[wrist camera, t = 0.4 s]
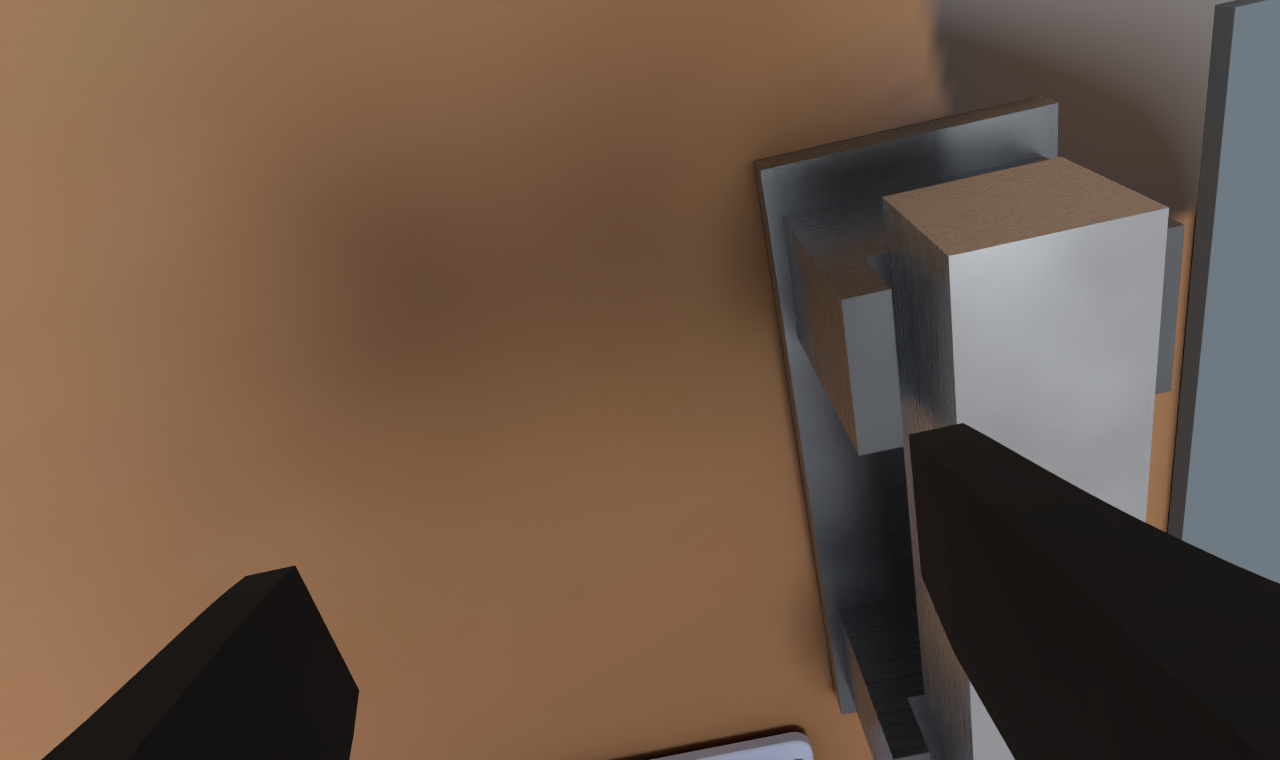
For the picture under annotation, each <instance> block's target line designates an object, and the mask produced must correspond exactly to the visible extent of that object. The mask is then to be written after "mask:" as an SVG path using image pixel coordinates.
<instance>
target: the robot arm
mask: <svg viewBox="0 0 1280 760" xmlns="http://www.w3.org/2000/svg"><path fill="white" fill-rule="evenodd" d="M909 444H910V456H911V467H912V478H913V489H914V500H915V512H916V523H917V534H918V545H919V556H920V567H921V576H922V578H923V581H924V583H925V586H926V588H927V590H928V593H929V595H930V598H931V600H932V603H933V605H934V607H935V610H936V612H937V615H938V617H939V619H940V622H941V624H942V626H943V629H944V631H945V633H946V636H947V638H948V640H949V643H950V645H951V647H952V649H953V652H954V654H955V656H956V657H957V659H958V661H959V663H960V665H961V666H962V668H963V670H964V672H965V673H966V675H967V677H968V679H969V680H970V682H971V684H972V686H973V687H974V689H975V691H976V693H977V694H978V696H979V698H980V700H981V702H982V703H983V705H984V707H985V709H986V710H987V712H988V714H989V716H990V717H991V719H992V721H993V722H994V724H995V726H996V728H997V729H998V731H999V733H1000V735H1001V736H1002V738H1003V740H1004V741H1005V743H1006V745H1007V747H1008V748H1009V750H1010V752H1011V754H1012V755H1013V757H1014V759H1015V760H1280V583H1277V582H1275V581H1272V580H1269V579H1267V578H1265V577H1262V576H1260V575H1258V574H1255V573H1253V572H1251V571H1248V570H1246V569H1244V568H1241V567H1239V566H1237V565H1234V564H1232V563H1230V562H1228V561H1225V560H1223V559H1221V558H1219V557H1217V556H1215V555H1213V554H1211V553H1208V552H1206V551H1204V550H1202V549H1200V548H1198V547H1196V546H1193V545H1191V544H1189V543H1187V542H1185V541H1183V540H1181V539H1178V538H1176V537H1174V536H1172V535H1170V534H1168V533H1166V532H1163V531H1161V530H1159V529H1157V528H1155V527H1153V526H1151V525H1149V524H1147V523H1145V522H1143V521H1141V520H1139V519H1137V518H1135V517H1133V516H1131V515H1129V514H1127V513H1126V512H1124V511H1122V510H1120V509H1118V508H1116V507H1114V506H1112V505H1110V504H1108V503H1106V502H1104V501H1103V500H1101V499H1099V498H1097V497H1095V496H1093V495H1091V494H1090V493H1088V492H1086V491H1084V490H1082V489H1080V488H1078V487H1077V486H1075V485H1073V484H1071V483H1069V482H1068V481H1066V480H1064V479H1062V478H1060V477H1058V476H1057V475H1055V474H1053V473H1051V472H1050V471H1048V470H1046V469H1044V468H1043V467H1041V466H1039V465H1037V464H1035V463H1034V462H1032V461H1030V460H1028V459H1027V458H1025V457H1023V456H1021V455H1020V454H1018V453H1016V452H1014V451H1013V450H1011V449H1009V448H1007V447H1006V446H1004V445H1002V444H1000V443H999V442H997V441H995V440H993V439H992V438H990V437H988V436H986V435H985V434H983V433H981V432H979V431H977V430H976V429H974V428H972V427H970V426H968V425H966V424H964V423H960V424H955V425H950V426H946V427H941V428H936V429H932V430H927V431H922V432H918V433H913V434H909ZM358 695H359V689H358V687H357V685H356V683H355V681H354V679H353V678H352V676H351V674H350V672H349V670H348V668H347V666H346V664H345V662H344V660H343V658H342V656H341V654H340V652H339V650H338V648H337V646H336V644H335V642H334V640H333V638H332V636H331V634H330V633H329V631H328V629H327V627H326V625H325V623H324V621H323V619H322V617H321V615H320V613H319V611H318V609H317V607H316V605H315V603H314V601H313V599H312V597H311V595H310V593H309V591H308V589H307V587H306V586H305V584H304V582H303V580H302V578H301V576H300V574H299V572H298V570H297V568H296V566H291V567H286V568H282V569H277V570H272V571H268V572H263V573H258V574H254V575H249V576H245V577H244V578H243V579H242V580H240V581H239V582H238V583H236V584H235V585H234V586H233V587H231V588H230V589H229V590H228V591H226V592H225V593H224V594H223V595H222V596H220V597H219V598H218V599H217V600H216V601H215V602H214V603H213V604H211V605H210V606H209V607H208V608H207V609H206V610H205V611H204V612H202V613H201V614H200V615H199V616H198V617H197V618H196V619H195V620H194V621H193V622H191V623H190V624H189V625H188V626H187V627H186V628H185V629H184V630H183V631H182V632H181V633H180V634H178V635H177V636H176V637H175V638H174V639H173V640H172V641H171V642H170V643H169V644H168V645H167V646H166V647H165V648H163V649H162V650H161V651H160V652H159V653H158V654H157V655H156V656H155V657H154V658H153V659H152V660H151V661H150V662H148V663H147V664H146V665H145V666H144V667H143V668H142V669H141V670H140V671H139V672H138V673H137V674H136V675H135V676H133V677H132V678H131V679H130V680H129V681H128V682H127V683H126V684H125V685H124V686H123V687H122V688H121V689H120V690H118V691H117V692H116V693H115V694H114V695H113V696H112V697H111V698H110V699H109V700H108V701H107V702H106V703H104V704H103V705H102V706H101V707H100V708H99V709H98V710H97V711H96V712H95V713H94V714H93V715H92V716H90V717H89V718H88V719H87V720H86V721H85V722H84V723H83V724H82V725H80V726H79V727H78V728H77V729H76V730H75V731H74V732H72V733H71V734H70V735H69V736H68V737H67V738H66V739H64V740H63V741H62V742H61V743H60V744H59V745H58V746H57V747H55V748H54V749H53V750H52V751H51V752H50V753H49V754H47V755H46V756H45V757H44V758H43V759H42V760H349V758H350V752H351V746H352V740H353V734H354V726H355V718H356V711H357V703H358ZM650 760H814V759H813V753H812V748H811V744H810V741H809V739H808V737H807V736H806V735H805V734H803V733H799V732H790V733H785V734H779V735H774V736H769V737H764V738H759V739H754V740H748V741H743V742H738V743H733V744H728V745H723V746H717V747H712V748H707V749H702V750H697V751H692V752H687V753H681V754H676V755H671V756H666V757H661V758H656V759H650Z"/></svg>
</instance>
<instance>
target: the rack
mask: <svg viewBox="0 0 1280 760" xmlns="http://www.w3.org/2000/svg"><path fill="white" fill-rule="evenodd" d="M1054 158H1058V103H1057V102H1054V101H1051V100H1049V99H1045V98H1043V97H1040V96H1038V97H1034V98H1029V99H1025V100H1021V101H1016V102H1012V103H1008V104H1003V105H999V106H995V107H990V108H985V109H981V110H977V111H973V112H968V113H963V114H959V115H955V116H950V117H946V118H941V119H937V120H933V121H928V122H924V123H919V124H915V125H911V126H906V127H902V128H897V129H893V130H889V131H884V132H880V133H876V134H871V135H867V136H862V137H858V138H854V139H849V140H845V141H840V142H836V143H832V144H827V145H823V146H818V147H814V148H810V149H805V150H801V151H796V152H792V153H788V154H783V155H779V156H774V157H770V158H766V159H761V160H757V161H754V167H755V173H756V180H757V186H758V193H759V199H760V206H761V212H762V219H763V226H764V232H765V239H766V245H767V252H768V258H769V265H770V271H771V278H772V284H773V291H774V298H775V304H776V311H777V317H778V324H779V330H780V337H781V343H782V350H783V357H784V363H785V370H786V376H787V383H788V389H789V396H790V402H791V409H792V415H793V422H794V429H795V435H796V442H797V448H798V455H799V461H800V468H801V474H802V481H803V487H804V494H805V501H806V507H807V514H808V520H809V527H810V533H811V540H812V546H813V553H814V560H815V566H816V573H817V579H818V586H819V592H820V599H821V605H822V612H823V618H824V625H825V632H826V638H827V645H828V651H829V658H830V664H831V671H832V677H833V684H834V690H835V695H836V698H837V701H838V704H839V707H840V710H841V713H842V715H843V714H848V713H853V712H857V713H858V716H859V719H860V722H861V725H862V728H863V730H864V733H865V736H866V739H867V742H868V745H869V748H870V751H871V754H872V756H873V759H874V760H931V758H930V751H929V744H928V732H927V720H926V708H925V696H924V684H923V673H922V661H921V649H920V637H919V625H918V614H917V602H916V590H915V578H914V566H913V555H912V543H911V531H910V519H909V507H908V495H907V484H906V472H905V460H904V448H903V446H904V437H903V425H902V413H901V401H900V389H899V377H898V365H897V354H896V342H895V330H894V318H893V306H892V294H891V288H890V283H889V271H888V259H887V247H886V235H885V224H884V212H883V200H882V197H884V196H889V195H893V194H898V193H902V192H907V191H911V190H916V189H920V188H924V187H929V186H933V185H938V184H942V183H947V182H951V181H956V180H960V179H965V178H969V177H974V176H978V175H983V174H987V173H991V172H996V171H1000V170H1005V169H1009V168H1014V167H1018V166H1023V165H1027V164H1032V163H1036V162H1041V161H1045V160H1050V159H1054ZM1183 236H1184V225H1183V224H1181V223H1179V222H1177V221H1175V220H1173V219H1171V218H1169V217H1168V227H1167V241H1166V254H1165V268H1164V281H1163V294H1162V308H1161V321H1160V335H1159V348H1158V362H1157V375H1156V389H1155V394H1157V393H1162V392H1166V391H1171V380H1172V368H1173V356H1174V344H1175V332H1176V320H1177V308H1178V296H1179V284H1180V272H1181V260H1182V248H1183Z"/></svg>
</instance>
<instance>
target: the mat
mask: <svg viewBox="0 0 1280 760" xmlns="http://www.w3.org/2000/svg"><path fill="white" fill-rule="evenodd" d="M1168 534H1170V535H1172V536H1174V537H1176V538H1178V539H1181V540H1183V541H1185V542H1187V543H1189V544H1191V545H1193V546H1196V547H1198V548H1200V549H1202V550H1204V551H1206V552H1208V553H1211V554H1213V555H1215V556H1217V557H1219V558H1221V559H1223V560H1225V561H1228V562H1230V563H1232V564H1234V565H1237V566H1239V567H1241V568H1244V569H1246V570H1248V571H1251V572H1253V573H1255V574H1258V575H1260V576H1262V577H1265V578H1267V579H1269V580H1272V581H1275V582H1277V583H1280V0H1236V1H1231V2H1228V3H1223V4H1218V5H1215V14H1214V26H1213V38H1212V47H1211V58H1210V70H1209V81H1208V93H1207V103H1206V114H1205V125H1204V137H1203V147H1202V159H1201V170H1200V181H1199V192H1198V203H1197V214H1196V225H1195V236H1194V247H1193V258H1192V269H1191V281H1190V292H1189V303H1188V314H1187V325H1186V336H1185V347H1184V358H1183V369H1182V381H1181V392H1180V403H1179V414H1178V425H1177V436H1176V447H1175V458H1174V469H1173V480H1172V492H1171V503H1170V514H1169V525H1168Z"/></svg>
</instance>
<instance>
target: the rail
mask: <svg viewBox="0 0 1280 760" xmlns="http://www.w3.org/2000/svg"><path fill="white" fill-rule="evenodd" d="M882 200H883V212H884V224H885V235H886V247H887V259H888V271H889V283H890V288H891V294H892V306H893V318H894V330H895V342H896V354H897V365H898V377H899V389H900V401H901V413H902V425H903V437H904V446H903V448H904V460H905V472H906V484H907V495H908V507H909V519H910V531H911V543H912V555H913V566H914V578H915V590H916V602H917V614H918V625H919V637H920V649H921V661H922V673H923V684H924V696H925V708H926V720H927V732H928V744H929V751H930V758H931V760H1015V759H1014V757H1013V755H1012V754H1011V752H1010V750H1009V748H1008V747H1007V745H1006V743H1005V741H1004V740H1003V738H1002V736H1001V735H1000V733H999V731H998V729H997V728H996V726H995V724H994V722H993V721H992V719H991V717H990V716H989V714H988V712H987V710H986V709H985V707H984V705H983V703H982V702H981V700H980V698H979V696H978V694H977V693H976V691H975V689H974V687H973V686H972V684H971V682H970V680H969V679H968V677H967V675H966V673H965V672H964V670H963V668H962V666H961V665H960V663H959V661H958V659H957V657H956V656H955V654H954V652H953V649H952V647H951V645H950V643H949V640H948V638H947V636H946V633H945V631H944V629H943V626H942V624H941V622H940V619H939V617H938V615H937V612H936V610H935V607H934V605H933V603H932V600H931V598H930V595H929V593H928V590H927V588H926V586H925V583H924V581H923V578H922V576H921V567H920V556H919V545H918V534H917V523H916V512H915V500H914V489H913V478H912V467H911V456H910V444H909V434H913V433H918V432H922V431H927V430H932V429H936V428H941V427H946V426H950V425H955V424H960V423H964V424H966V425H968V426H970V427H972V428H974V429H976V430H977V431H979V432H981V433H983V434H985V435H986V436H988V437H990V438H992V439H993V440H995V441H997V442H999V443H1000V444H1002V445H1004V446H1006V447H1007V448H1009V449H1011V450H1013V451H1014V452H1016V453H1018V454H1020V455H1021V456H1023V457H1025V458H1027V459H1028V460H1030V461H1032V462H1034V463H1035V464H1037V465H1039V466H1041V467H1043V468H1044V469H1046V470H1048V471H1050V472H1051V473H1053V474H1055V475H1057V476H1058V477H1060V478H1062V479H1064V480H1066V481H1068V482H1069V483H1071V484H1073V485H1075V486H1077V487H1078V488H1080V489H1082V490H1084V491H1086V492H1088V493H1090V494H1091V495H1093V496H1095V497H1097V498H1099V499H1101V500H1103V501H1104V502H1106V503H1108V504H1110V505H1112V506H1114V507H1116V508H1118V509H1120V510H1122V511H1124V512H1126V513H1127V514H1129V515H1131V516H1133V517H1135V518H1137V519H1139V520H1141V521H1143V522H1145V523H1146V509H1147V496H1148V483H1149V469H1150V456H1151V442H1152V429H1153V415H1154V402H1155V389H1156V375H1157V362H1158V348H1159V335H1160V321H1161V308H1162V294H1163V281H1164V268H1165V254H1166V241H1167V227H1168V214H1169V208H1168V207H1166V206H1164V205H1162V204H1160V203H1158V202H1155V201H1153V200H1151V199H1149V198H1147V197H1145V196H1143V195H1140V194H1139V193H1137V192H1134V191H1132V190H1130V189H1128V188H1126V187H1124V186H1122V185H1120V184H1117V183H1115V182H1113V181H1111V180H1109V179H1107V178H1105V177H1103V176H1100V175H1098V174H1096V173H1094V172H1092V171H1090V170H1088V169H1086V168H1083V167H1081V166H1079V165H1077V164H1075V163H1073V162H1071V161H1069V160H1067V159H1064V158H1062V157H1059V158H1054V159H1050V160H1045V161H1041V162H1036V163H1032V164H1027V165H1023V166H1018V167H1014V168H1009V169H1005V170H1000V171H996V172H991V173H987V174H983V175H978V176H974V177H969V178H965V179H960V180H956V181H951V182H947V183H942V184H938V185H933V186H929V187H924V188H920V189H916V190H911V191H907V192H902V193H898V194H893V195H889V196H884V197H882Z"/></svg>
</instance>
